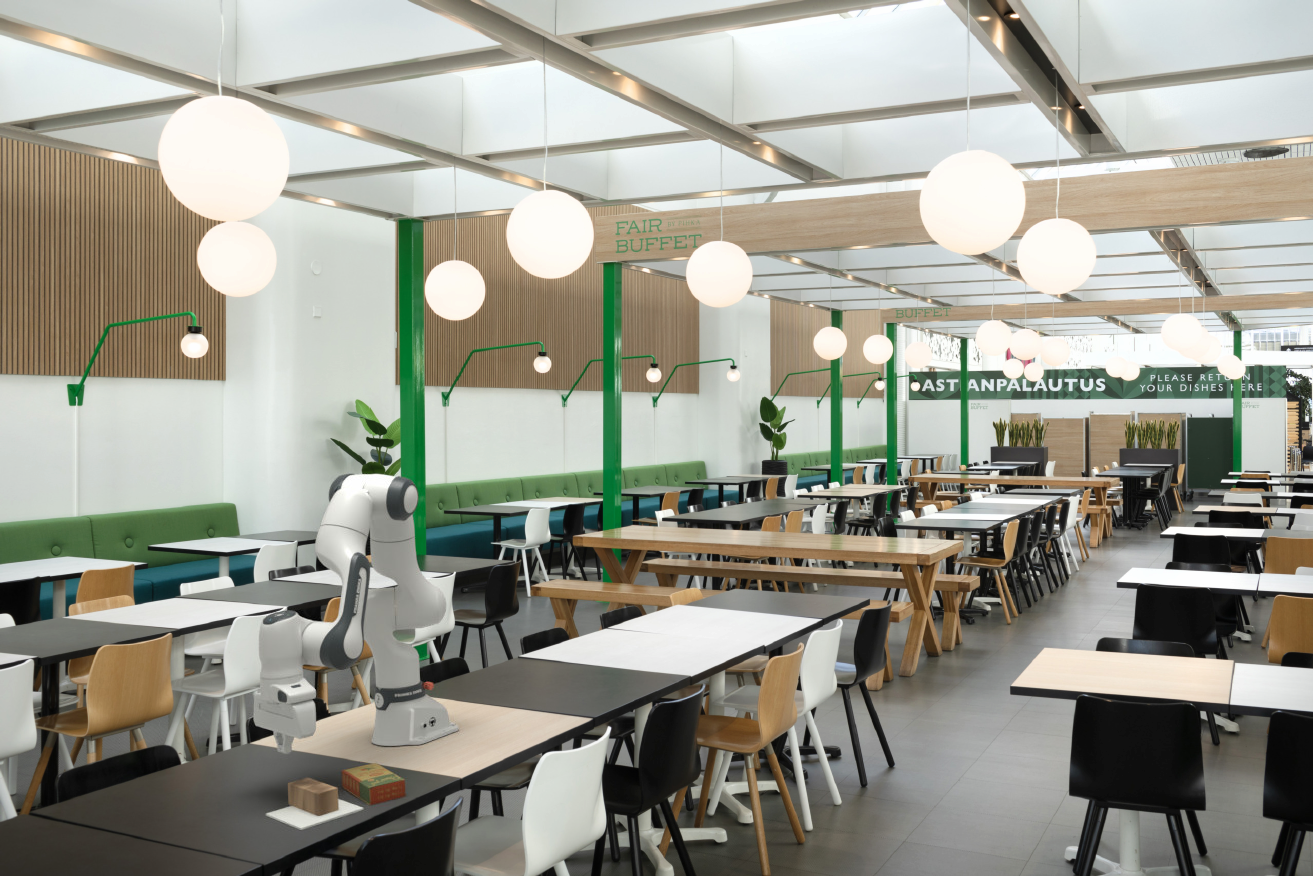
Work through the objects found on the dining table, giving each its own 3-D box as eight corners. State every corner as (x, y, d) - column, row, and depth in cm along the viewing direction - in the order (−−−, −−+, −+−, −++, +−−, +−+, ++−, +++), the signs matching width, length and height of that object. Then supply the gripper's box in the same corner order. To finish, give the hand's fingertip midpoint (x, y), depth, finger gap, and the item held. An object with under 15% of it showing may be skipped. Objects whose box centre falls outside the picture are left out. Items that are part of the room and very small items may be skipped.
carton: (377, 780, 234) (376, 761, 234) (406, 798, 222) (406, 778, 222) (341, 789, 229) (340, 769, 229) (369, 807, 217) (368, 786, 217)
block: (306, 777, 221) (337, 788, 213) (307, 798, 221) (338, 810, 213) (287, 783, 218) (318, 794, 210) (288, 804, 218) (318, 816, 210)
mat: (327, 796, 223) (327, 795, 223) (363, 810, 214) (363, 808, 214) (265, 815, 213) (265, 813, 213) (301, 830, 203) (301, 828, 203)
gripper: (244, 685, 228) (247, 748, 228) (293, 697, 214) (295, 764, 214) (271, 679, 233) (273, 741, 233) (320, 691, 219) (323, 756, 219)
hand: (284, 752), depth 223 cm, fingers closed
